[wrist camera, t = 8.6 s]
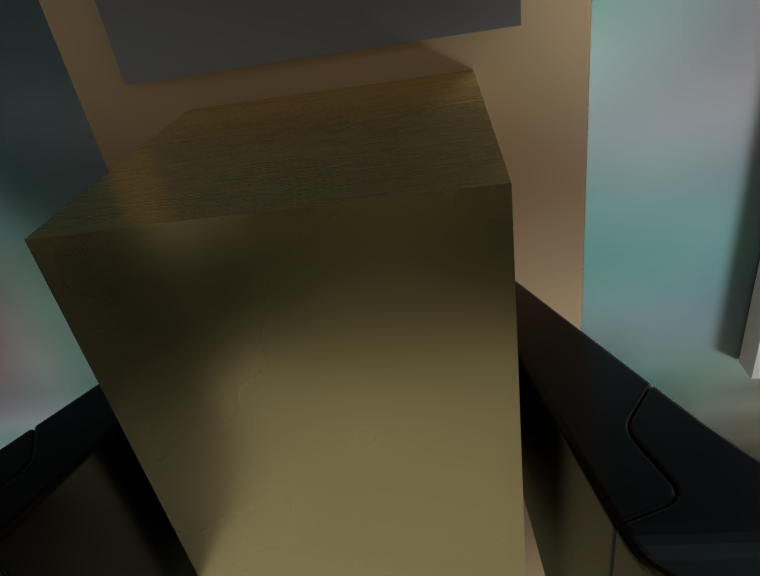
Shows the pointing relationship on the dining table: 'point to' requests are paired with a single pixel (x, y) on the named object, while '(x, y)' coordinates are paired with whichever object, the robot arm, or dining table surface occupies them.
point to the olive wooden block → (312, 329)
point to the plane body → (355, 68)
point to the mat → (752, 335)
